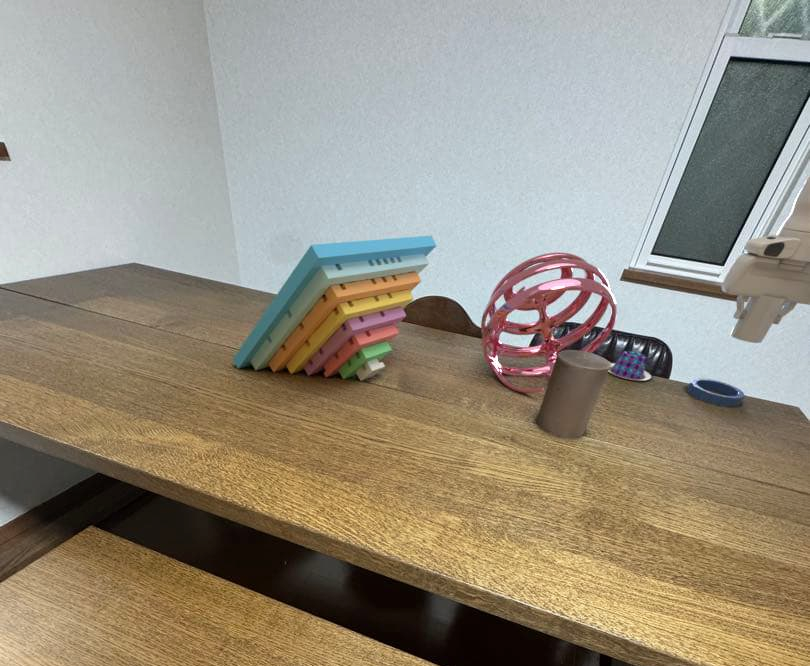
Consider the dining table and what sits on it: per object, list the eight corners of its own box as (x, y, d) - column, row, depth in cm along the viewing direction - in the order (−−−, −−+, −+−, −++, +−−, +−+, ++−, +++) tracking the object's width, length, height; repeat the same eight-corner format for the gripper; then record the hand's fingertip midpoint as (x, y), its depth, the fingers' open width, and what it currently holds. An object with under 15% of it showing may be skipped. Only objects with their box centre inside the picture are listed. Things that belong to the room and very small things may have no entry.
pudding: (653, 375, 121) (662, 355, 118) (645, 387, 113) (654, 366, 110) (609, 362, 126) (617, 343, 122) (598, 373, 118) (605, 353, 114)
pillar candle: (529, 415, 93) (552, 340, 84) (574, 418, 95) (601, 344, 85) (544, 438, 86) (570, 358, 76) (592, 441, 87) (624, 363, 78)
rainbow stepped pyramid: (277, 431, 100) (368, 347, 74) (232, 359, 97) (311, 244, 71) (375, 389, 123) (471, 314, 97) (341, 330, 120) (431, 235, 94)
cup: (752, 336, 106) (777, 293, 100) (766, 344, 101) (793, 300, 95) (725, 332, 106) (747, 289, 100) (737, 340, 101) (762, 296, 95)
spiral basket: (652, 326, 80) (621, 207, 87) (494, 350, 83) (475, 233, 89) (604, 409, 107) (583, 313, 114) (485, 424, 110) (472, 330, 116)
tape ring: (725, 391, 117) (730, 382, 115) (747, 411, 108) (753, 401, 106) (679, 385, 117) (683, 375, 116) (697, 404, 108) (702, 394, 106)
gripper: (837, 252, 94) (793, 323, 103) (739, 239, 94) (704, 311, 103) (857, 257, 89) (809, 331, 98) (754, 244, 89) (716, 318, 98)
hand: (755, 321), depth 101 cm, fingers closed on cup, 6 cm apart
